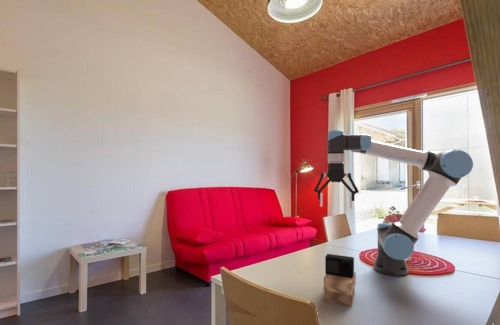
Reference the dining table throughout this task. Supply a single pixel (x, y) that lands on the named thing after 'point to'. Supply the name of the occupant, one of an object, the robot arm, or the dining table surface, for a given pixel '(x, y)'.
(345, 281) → the tower top
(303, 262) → the dining table surface
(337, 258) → the digital camera
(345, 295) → the tower base
